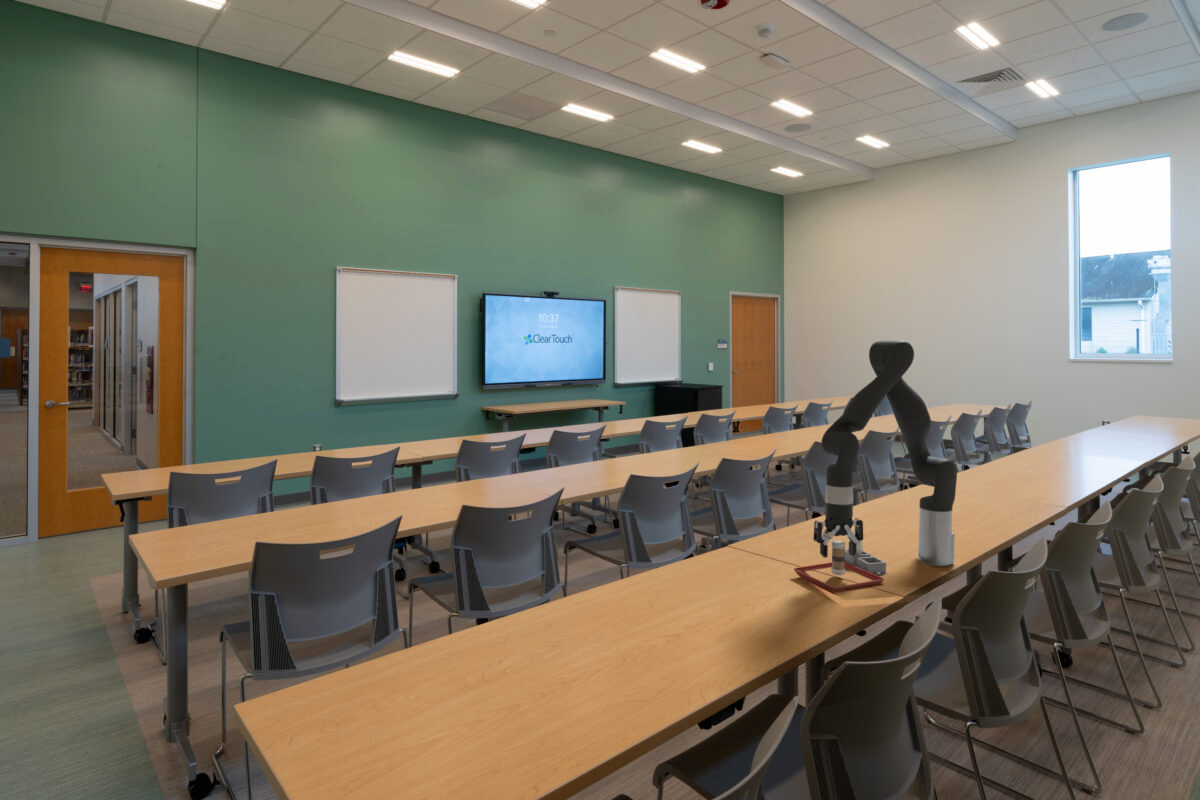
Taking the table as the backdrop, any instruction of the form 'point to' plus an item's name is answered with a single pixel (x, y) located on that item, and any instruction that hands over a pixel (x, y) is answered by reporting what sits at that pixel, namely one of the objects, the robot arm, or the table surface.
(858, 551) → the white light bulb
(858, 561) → the block
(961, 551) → the table surface
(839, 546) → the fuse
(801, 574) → the plant saucer
